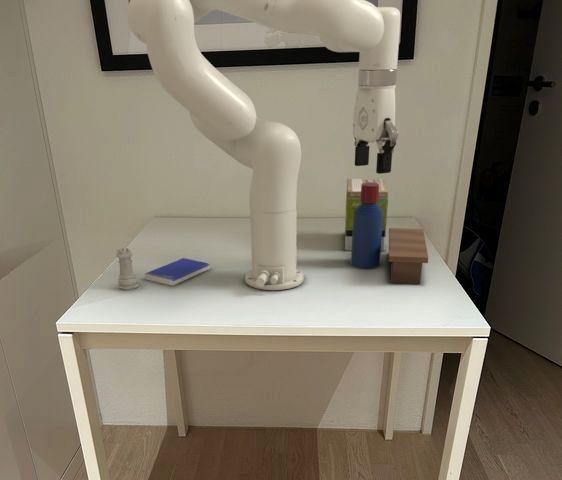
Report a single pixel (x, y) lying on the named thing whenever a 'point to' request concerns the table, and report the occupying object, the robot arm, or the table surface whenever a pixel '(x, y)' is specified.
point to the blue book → (177, 271)
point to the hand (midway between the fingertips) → (372, 169)
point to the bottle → (366, 235)
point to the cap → (369, 193)
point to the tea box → (354, 200)
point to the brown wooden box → (407, 255)
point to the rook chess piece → (126, 271)
